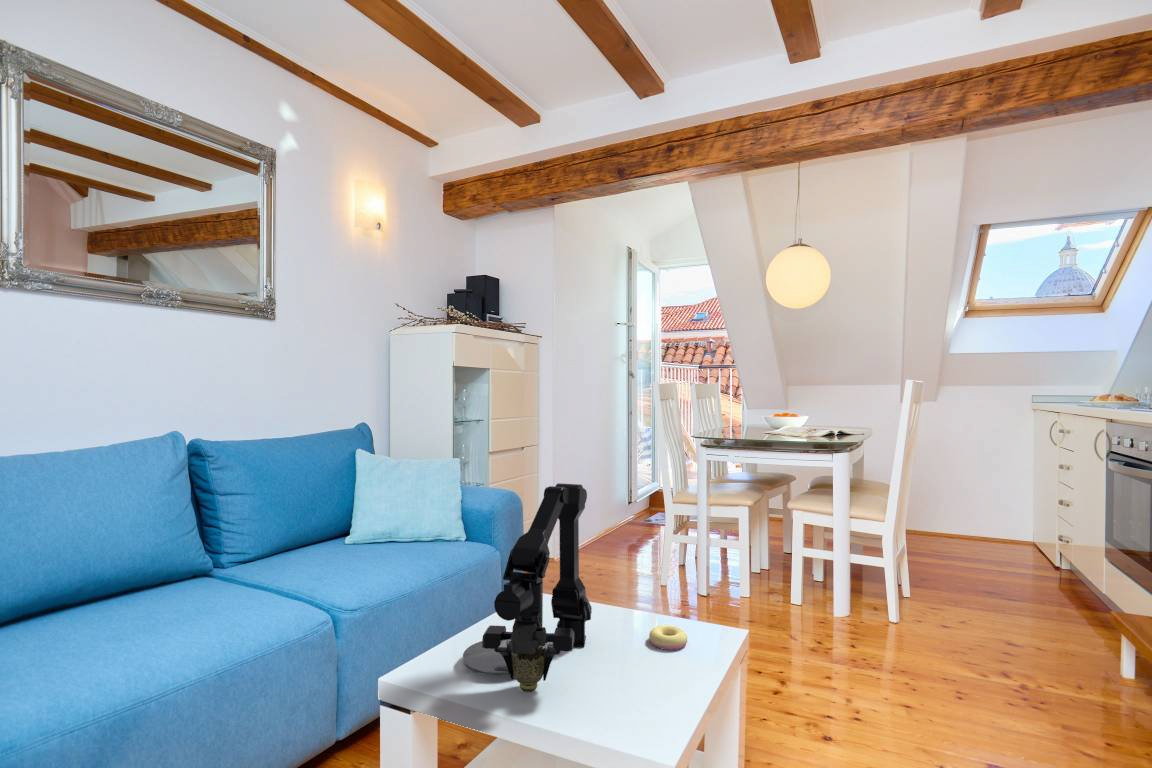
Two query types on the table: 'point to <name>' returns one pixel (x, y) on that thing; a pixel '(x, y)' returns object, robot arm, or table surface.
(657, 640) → the donut
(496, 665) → the turntable
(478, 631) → the table surface
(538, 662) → the cup
